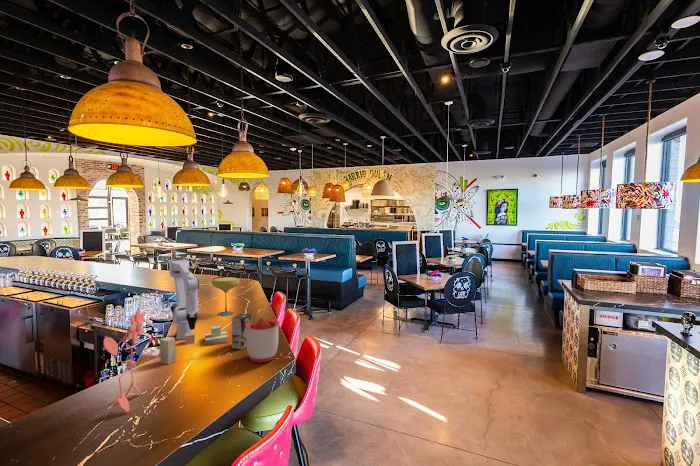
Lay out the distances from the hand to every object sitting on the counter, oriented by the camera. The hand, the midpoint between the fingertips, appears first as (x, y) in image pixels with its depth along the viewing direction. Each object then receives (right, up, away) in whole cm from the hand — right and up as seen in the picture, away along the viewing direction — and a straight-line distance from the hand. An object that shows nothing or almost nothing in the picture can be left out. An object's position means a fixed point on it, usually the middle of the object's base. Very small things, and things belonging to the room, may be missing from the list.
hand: (192, 327), depth 178 cm
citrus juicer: (+41, -11, -15) cm, 45 cm away
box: (-1, -11, -21) cm, 24 cm away
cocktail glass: (-3, -7, +56) cm, 57 cm away
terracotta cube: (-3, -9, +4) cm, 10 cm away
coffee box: (+27, -10, 0) cm, 28 cm away
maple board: (+10, -9, +6) cm, 15 cm away
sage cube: (+10, -6, +6) cm, 13 cm away
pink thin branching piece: (+7, -12, -56) cm, 57 cm away
